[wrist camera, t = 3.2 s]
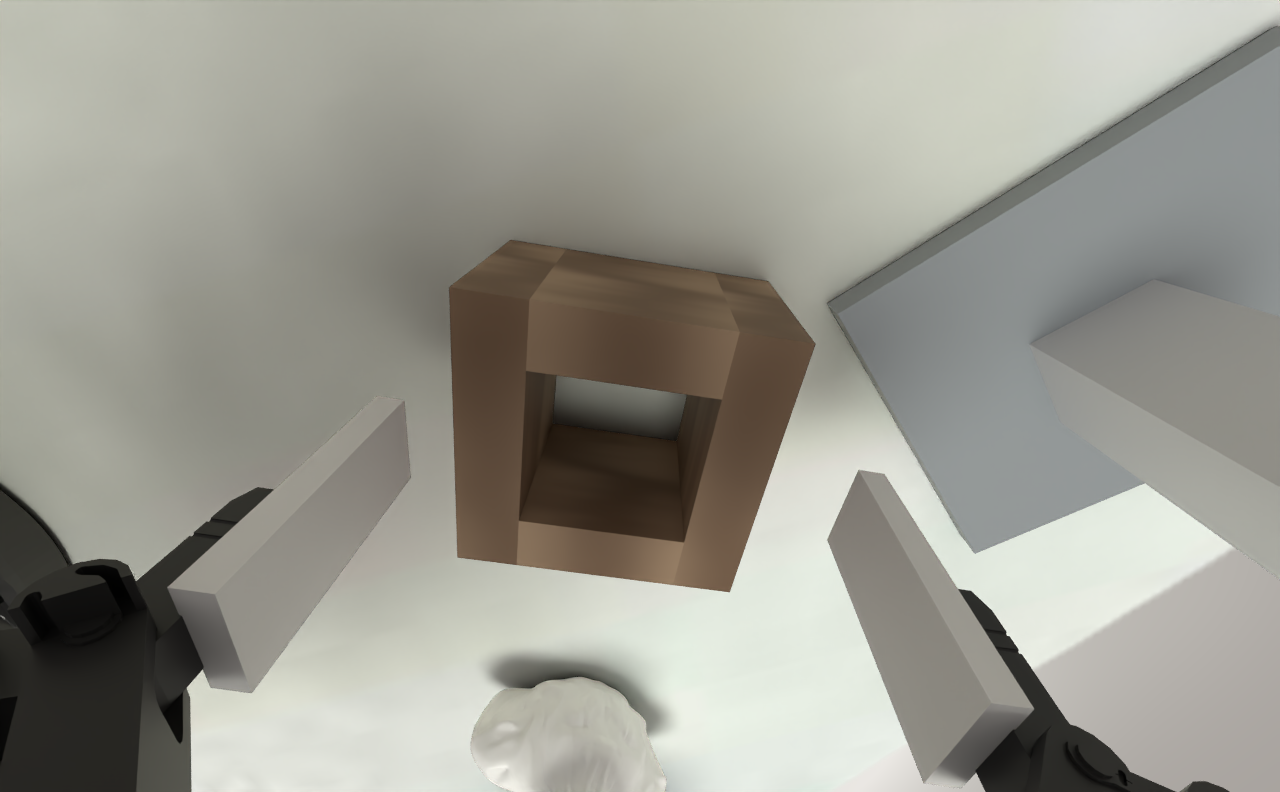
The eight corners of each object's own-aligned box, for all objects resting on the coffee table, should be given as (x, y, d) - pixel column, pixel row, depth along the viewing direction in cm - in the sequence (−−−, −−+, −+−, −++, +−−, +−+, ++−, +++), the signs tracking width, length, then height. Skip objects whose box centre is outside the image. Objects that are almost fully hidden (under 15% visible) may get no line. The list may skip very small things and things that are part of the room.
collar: (504, 455, 22) (457, 557, 17) (510, 240, 18) (449, 287, 12) (711, 483, 23) (729, 591, 17) (768, 281, 18) (815, 343, 13)
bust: (667, 691, 34) (754, 808, 23) (618, 808, 32) (687, 992, 21) (507, 625, 31) (522, 725, 20) (444, 750, 29) (424, 929, 19)
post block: (826, 303, 18) (992, 468, 9) (1273, 27, 14) (2331, -149, 5) (960, 534, 24) (1149, 783, 15) (1316, 381, 19) (1889, 597, 10)
